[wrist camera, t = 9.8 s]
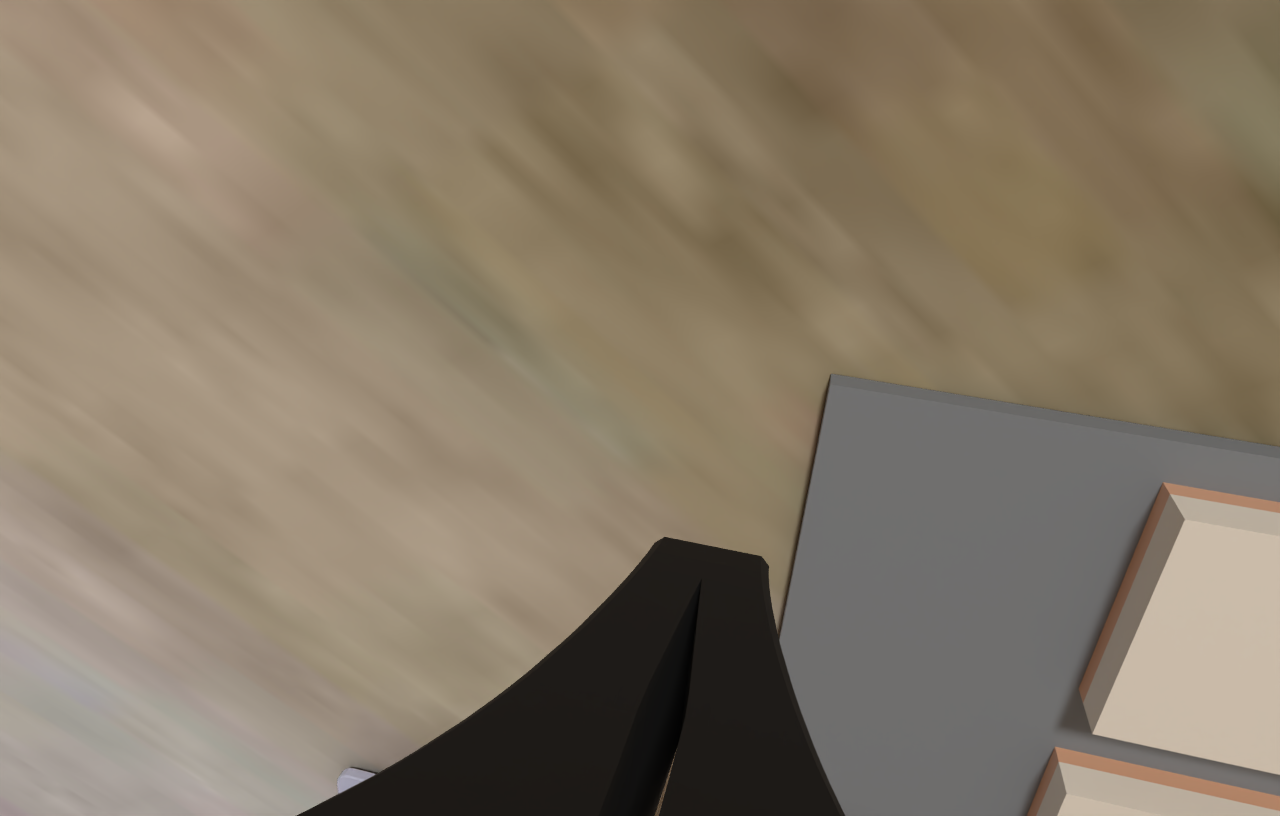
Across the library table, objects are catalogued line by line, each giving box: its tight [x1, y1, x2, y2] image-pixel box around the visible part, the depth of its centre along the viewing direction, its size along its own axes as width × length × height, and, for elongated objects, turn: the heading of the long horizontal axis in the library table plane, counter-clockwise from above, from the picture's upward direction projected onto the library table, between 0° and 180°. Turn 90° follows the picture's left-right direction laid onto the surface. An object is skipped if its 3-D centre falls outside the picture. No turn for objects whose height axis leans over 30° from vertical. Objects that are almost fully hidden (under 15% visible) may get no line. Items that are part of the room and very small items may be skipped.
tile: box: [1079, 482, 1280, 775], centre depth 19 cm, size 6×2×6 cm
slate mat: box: [779, 374, 1280, 816], centre depth 23 cm, size 16×15×1 cm
